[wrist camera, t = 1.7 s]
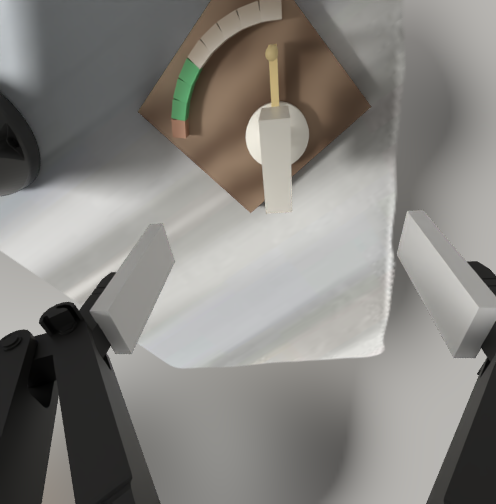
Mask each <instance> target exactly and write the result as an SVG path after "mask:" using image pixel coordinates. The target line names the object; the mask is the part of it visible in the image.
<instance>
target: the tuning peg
mask: <svg viewBox="0 0 496 504" xmlns="http://www.w3.org/2000/svg"><path fill="white" fill-rule="evenodd" d="M265 56H266V58H267V60H268V61H269V71H270V89H271V102H270V103H267V104H265V105H263V106H261V107H260V108H259V109H257V110H256V111H255V113H254V114H253V115H252V117H251V118H250V120H249V123H248V126H247V129H246V144H247V148H248V150H249V152H250V154H251V156H252V157H253V158H254V159H255V160H256V161H257V162H258V163H260V164H261V165H262V171H263V184H264V196H265V208H266V214H268V213H286V212H292V177H291V164H293V163H294V162H296V161H297V160H298V159H299V158H300V157H301V156H302V154H303V153H304V151H305V149H306V147H307V144H308V140H309V129H308V125H307V122H306V119H305V117H304V115H303V114H302V112H301V111H300V110H299V109H298V108H297V107H295V106H294V105H292V104H290V103H287V102H283V101H279V87H278V62H277V57H278V48H277V44H270V45H268V48H267V49H266V52H265Z"/></svg>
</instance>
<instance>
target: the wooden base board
mask: <svg viewBox="0 0 496 504" xmlns="http://www.w3.org/2000/svg"><path fill="white" fill-rule="evenodd" d="M270 44H277V48H278V57H277V62H278V87H279V101H283V102H287V103H290V104H292V105H294V106H295V107H297V108H298V109H299V110H300V111H301V112H302V114H303V115H304V117H305V119H306V122H307V125H308V129H309V140H308V144H307V147H306V149H305V151H304V153H303V154H302V156H301V157H300V158H299V159H298V160H297V161H296V162H294V163H293V164H291V177H292V176H293V175H294V174H296V173H297V172H298V171H299V170H300V169H301V168H302V167H303V166H305V165H306V164H307V163H308V162H309V161H310V160H311V159H313V158H314V157H315V156H316V155H317V154H318V153H319V152H321V151H322V150H323V149H324V148H325V147H326V146H327V145H328V144H330V143H331V142H332V141H333V140H334V139H335V138H336V137H338V136H339V135H340V134H341V133H342V132H343V131H344V130H346V129H347V128H348V127H349V126H350V125H351V124H352V123H353V122H355V121H356V120H357V119H358V118H359V117H360V116H361V115H363V114H364V113H365V112H366V111H367V110H368V109H369V108H370V107H371V106H370V104H369V103H368V101H367V100H366V99H365V97H364V96H363V95H362V93H361V92H360V90H359V89H358V88H357V86H356V85H355V84H354V82H353V81H352V79H351V78H350V77H349V75H348V74H347V73H346V71H345V70H344V69H343V67H342V66H341V64H340V63H339V62H338V60H337V59H336V58H335V56H334V55H333V53H332V52H331V51H330V49H329V48H328V47H327V45H326V44H325V42H324V41H323V40H322V38H321V37H320V36H319V34H318V33H317V31H316V30H315V29H314V27H313V26H312V25H311V23H310V22H309V21H308V19H307V18H306V16H305V15H304V14H303V12H302V11H301V10H300V8H299V7H298V5H297V4H296V3H295V1H294V0H211V1H210V3H209V4H208V6H207V7H206V9H205V10H204V12H203V13H202V15H201V16H200V18H199V19H198V21H197V22H196V24H195V25H194V27H193V28H192V30H191V32H190V33H189V35H188V36H187V38H186V39H185V41H184V42H183V44H182V45H181V47H180V48H179V50H178V51H177V53H176V54H175V56H174V57H173V59H172V60H171V62H170V64H169V65H168V67H167V68H166V70H165V71H164V73H163V74H162V76H161V77H160V79H159V80H158V82H157V83H156V85H155V86H154V88H153V89H152V91H151V92H150V94H149V96H148V97H147V99H146V100H145V102H144V103H143V105H142V106H141V108H140V109H139V111H138V113H140V114H141V115H142V116H143V117H144V118H145V119H146V120H147V121H148V122H150V123H151V124H152V125H153V126H154V127H155V128H156V129H157V130H159V131H160V132H161V133H162V134H163V135H164V136H165V137H166V138H167V139H169V140H170V141H171V142H172V143H173V144H174V145H175V146H176V147H178V148H179V149H180V150H181V151H182V152H183V153H184V154H185V155H186V156H188V157H189V158H190V159H191V160H192V161H193V162H194V163H195V164H197V165H198V166H199V167H200V168H201V169H202V170H203V171H204V172H205V173H207V174H208V175H209V176H210V177H211V178H212V179H213V180H214V181H216V182H217V183H218V184H219V185H220V186H221V187H222V188H223V189H224V190H226V191H227V192H228V193H229V194H230V195H231V196H232V197H233V198H235V199H236V200H237V201H238V202H239V203H240V204H241V205H242V206H244V207H245V208H246V209H247V210H248V211H249V212H250V213H251V212H252V211H254V210H255V209H256V208H257V207H258V206H259V205H260V204H261V203H263V202H264V201H265V196H264V184H263V171H262V165H261V164H260V163H258V162H257V161H256V160H255V159H254V158H253V157H252V156H251V154H250V152H249V150H248V148H247V144H246V129H247V126H248V123H249V120H250V118H251V117H252V115H253V114H254V113H255V111H256V110H257V109H259V108H260V107H261V106H263V105H265V104H267V103H270V102H271V89H270V71H269V61H268V60H267V58H266V56H265V52H266V49H267V48H268V45H270Z"/></svg>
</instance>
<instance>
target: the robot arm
mask: <svg viewBox="0 0 496 504" xmlns="http://www.w3.org/2000/svg"><path fill="white" fill-rule="evenodd" d="M39 167H40V155H39V150H38V146H37V143H36V140H35V138H34V135H33V133H32V131H31V129H30V128H29V126H28V124H27V123H26V121H25V120H24V118H23V117H22V115H21V114H20V113H19V112H18V110H17V109H16V108H15V107H14V106H13V105H12V104H11V103H10V102H9V101H8V100H7V99H6V98H5V97H4V96H3V95H2V94H1V93H0V196H6V195H10V194H13V193H16V192H18V191H19V190H21V189H23V188H25V187H26V186H28V185H29V184H31V183H32V182H33V181H34V179H35V178H36V176H37V174H38V171H39ZM397 255H398V257H399V259H400V261H401V263H402V264H403V266H404V268H405V270H406V272H407V274H408V275H409V277H410V279H411V281H412V283H413V285H414V286H415V288H416V290H417V292H418V294H419V296H420V297H421V299H422V301H423V303H424V305H425V306H426V308H427V310H428V312H429V314H430V316H431V317H432V319H433V321H434V323H435V325H436V327H437V329H438V330H439V332H440V334H441V336H442V338H443V340H444V341H445V343H446V345H447V347H448V349H449V350H450V352H451V354H452V356H453V357H454V358H476V356H477V354H478V353H479V351H480V349H481V348H482V350H483V351H484V353H485V354H486V356H487V359H486V361H485V362H484V364H483V365H482V367H481V368H480V370H479V372H478V373H477V374H478V375H479V376H478V379H477V382H476V384H475V386H474V389H473V391H472V393H471V396H470V399H469V401H468V403H467V406H466V408H465V411H464V413H463V415H462V418H461V420H460V423H459V425H458V428H457V430H456V432H455V435H454V437H453V440H452V442H451V445H450V447H449V450H448V452H447V454H446V457H445V459H444V462H443V464H442V467H441V469H440V471H439V474H438V476H437V479H436V481H435V484H434V486H433V488H432V491H431V493H430V496H429V498H428V501H427V503H426V504H496V276H495V274H494V273H493V272H492V271H491V270H490V269H489V268H487V267H485V266H484V265H482V264H481V263H479V262H477V261H472V262H466V260H465V259H464V258H463V257H462V256H461V254H460V253H459V252H458V251H457V250H456V248H455V247H454V246H453V245H452V244H451V242H449V240H448V239H447V238H446V237H445V236H444V235H443V233H442V232H441V231H440V229H439V228H438V227H437V226H436V225H435V223H434V222H433V221H432V220H431V219H430V218H429V216H428V215H427V214H426V213H425V212H424V210H418V211H407V214H406V219H405V222H404V226H403V231H402V235H401V239H400V243H399V247H398V252H397ZM174 263H175V260H174V257H173V254H172V251H171V248H170V244H169V241H168V238H167V235H166V232H165V229H164V226H163V223H162V224H150V225H149V226H148V228H147V229H146V231H145V232H144V234H143V235H142V236H141V238H140V239H139V241H138V242H137V244H136V245H135V246H134V248H133V249H132V251H131V252H130V254H129V255H128V256H127V258H126V259H125V261H124V262H123V264H122V265H121V267H120V268H119V269H118V271H117V272H111V273H110V274H108V275H107V276H106V277H105V278H103V279H102V280H101V282H100V283H99V284H98V286H97V287H96V289H95V290H94V291H93V292H92V295H90V296H89V298H88V299H87V301H86V302H85V303H84V305H83V306H82V307H81V309H80V310H78V309H77V308H76V306H75V305H74V303H71V302H63V303H60V304H57V305H55V306H53V307H51V308H49V309H48V310H47V311H46V312H45V313H44V314H43V315H42V316H41V318H40V320H39V324H40V325H41V326H42V327H43V329H44V330H45V331H46V332H47V333H45V334H42V335H38V336H33V335H32V334H31V333H30V332H29V331H28V330H18V331H15V332H13V333H10V334H8V335H7V336H5V337H4V338H2V339H1V340H0V504H41V503H42V496H43V490H44V484H45V478H46V471H47V465H48V459H49V453H50V447H51V440H52V434H53V428H54V422H55V415H56V409H57V403H58V396H59V399H60V406H61V412H62V418H63V425H64V432H65V438H66V445H67V451H68V457H69V464H70V470H71V477H72V484H73V490H74V497H75V503H76V504H160V501H159V498H158V495H157V492H156V489H155V486H154V484H153V481H152V478H151V475H150V473H149V469H148V467H147V464H146V461H145V458H144V455H143V452H142V450H141V447H140V444H139V441H138V438H137V435H136V433H135V430H134V427H133V424H132V421H131V419H130V415H129V413H128V410H127V407H126V404H125V401H124V398H123V396H122V393H121V390H120V387H119V384H118V382H117V378H116V376H115V373H114V370H113V367H112V364H111V362H110V359H109V357H108V355H107V351H108V349H109V348H110V346H111V347H112V349H113V350H114V352H115V354H132V352H133V350H134V348H135V346H136V344H137V342H138V339H139V337H140V335H141V333H142V331H143V329H144V327H145V325H146V322H147V320H148V318H149V316H150V314H151V312H152V310H153V307H154V305H155V303H156V301H157V299H158V297H159V295H160V292H161V290H162V288H163V286H164V284H165V282H166V280H167V277H168V275H169V273H170V271H171V269H172V267H173V265H174Z"/></svg>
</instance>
